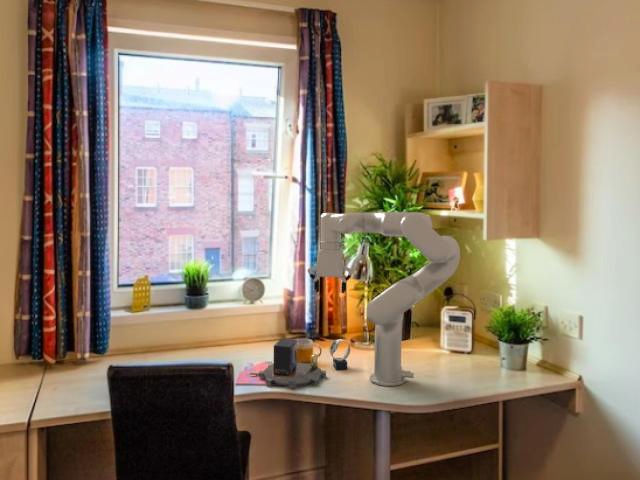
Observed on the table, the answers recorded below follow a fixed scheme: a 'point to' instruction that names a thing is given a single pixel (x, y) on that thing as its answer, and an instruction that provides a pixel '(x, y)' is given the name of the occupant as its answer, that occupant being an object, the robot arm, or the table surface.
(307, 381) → the sprocket
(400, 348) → the robot arm
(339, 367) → the watch
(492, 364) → the table surface
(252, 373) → the stand
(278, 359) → the small box
